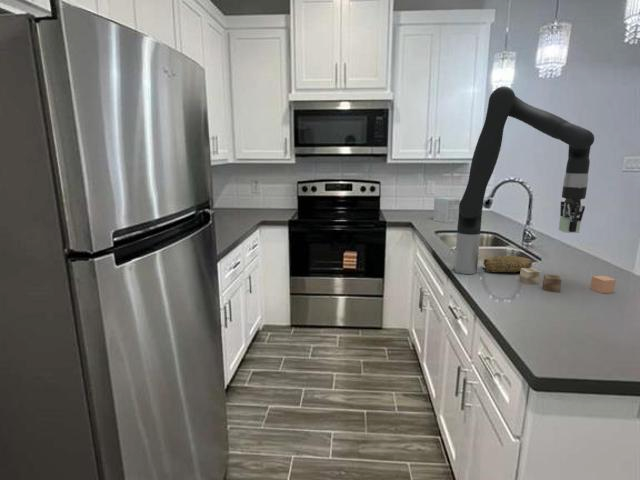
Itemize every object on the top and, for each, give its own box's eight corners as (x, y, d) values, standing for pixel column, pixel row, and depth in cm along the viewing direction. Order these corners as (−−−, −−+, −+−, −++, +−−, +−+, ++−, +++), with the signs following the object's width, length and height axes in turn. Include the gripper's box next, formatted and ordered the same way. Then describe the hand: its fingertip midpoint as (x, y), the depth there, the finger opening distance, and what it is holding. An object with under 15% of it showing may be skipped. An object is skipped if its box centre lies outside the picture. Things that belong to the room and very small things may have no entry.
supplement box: (458, 221, 285) (460, 198, 281) (446, 223, 279) (448, 199, 275) (444, 219, 296) (446, 196, 293) (432, 220, 290) (434, 197, 286)
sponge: (488, 277, 163) (540, 270, 158) (485, 259, 163) (536, 252, 158) (483, 273, 176) (530, 267, 171) (480, 256, 176) (527, 250, 171)
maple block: (526, 284, 151) (527, 272, 150) (519, 280, 156) (520, 268, 155) (538, 284, 151) (540, 271, 150) (531, 279, 156) (532, 268, 155)
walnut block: (544, 290, 144) (545, 278, 142) (542, 286, 148) (544, 274, 147) (559, 292, 142) (561, 279, 140) (557, 288, 146) (559, 275, 145)
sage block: (564, 232, 145) (566, 219, 144) (558, 229, 150) (560, 217, 148) (578, 232, 144) (580, 219, 143) (572, 230, 149) (574, 217, 148)
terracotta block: (602, 293, 140) (604, 280, 139) (590, 289, 145) (592, 276, 144) (613, 292, 141) (615, 279, 140) (601, 288, 146) (603, 275, 145)
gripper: (555, 183, 150) (550, 226, 154) (573, 187, 137) (566, 233, 140) (576, 184, 149) (570, 227, 153) (596, 187, 135) (589, 234, 139)
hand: (568, 230), depth 147 cm, fingers closed on sage block, 5 cm apart
